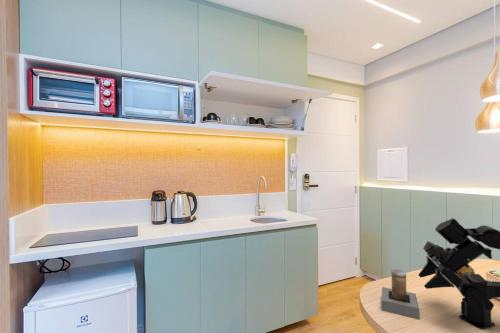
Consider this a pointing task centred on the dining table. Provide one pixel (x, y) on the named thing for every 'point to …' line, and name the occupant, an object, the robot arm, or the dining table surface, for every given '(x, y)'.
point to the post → (398, 285)
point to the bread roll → (466, 270)
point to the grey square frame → (400, 304)
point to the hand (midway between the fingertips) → (422, 281)
